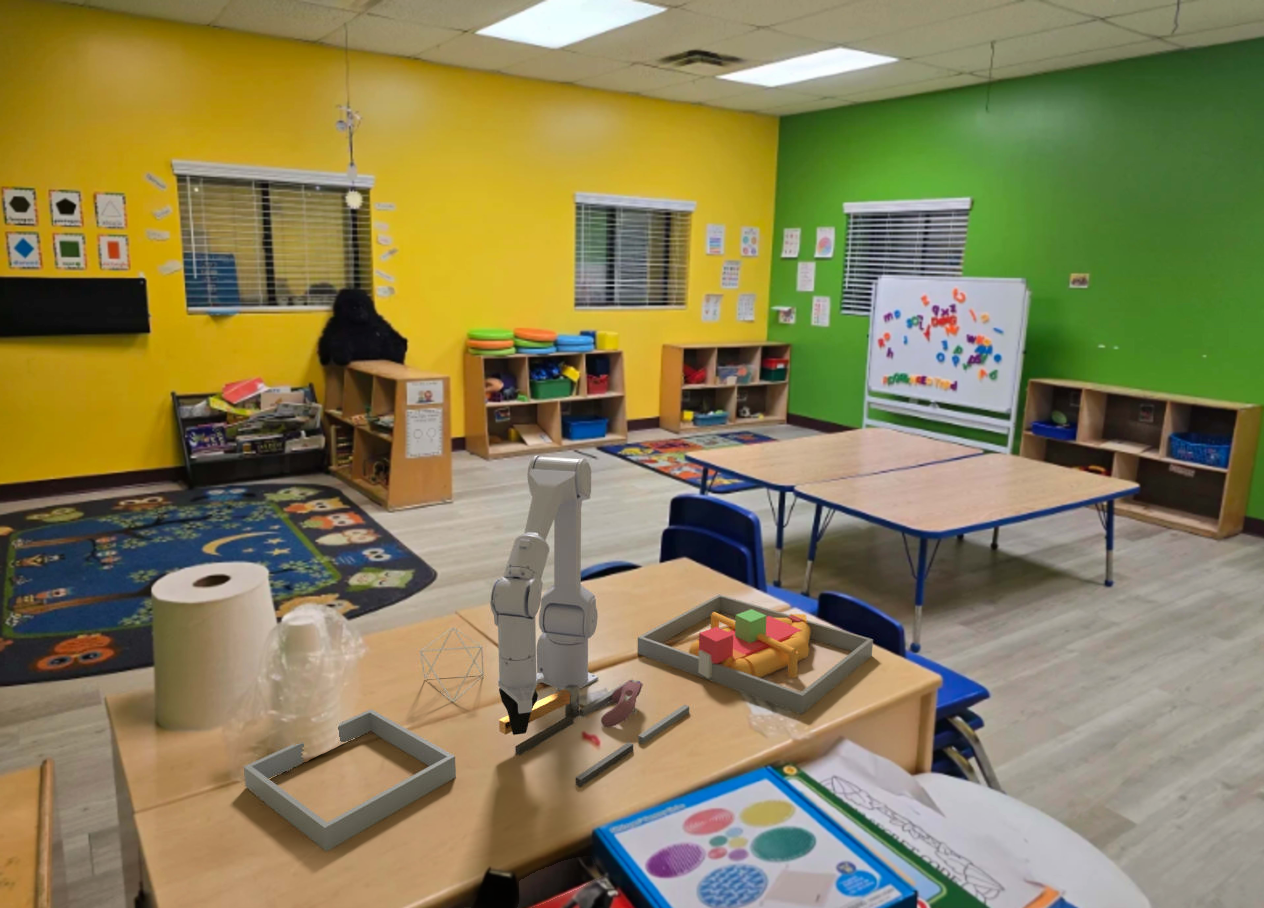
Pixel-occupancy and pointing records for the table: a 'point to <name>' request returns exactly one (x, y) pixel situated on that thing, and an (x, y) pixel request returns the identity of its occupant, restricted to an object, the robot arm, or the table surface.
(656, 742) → the table surface
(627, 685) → the pink curved shape
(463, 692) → the geometric polyhedron
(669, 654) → the blocks bin frame
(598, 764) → the dock
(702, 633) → the raft
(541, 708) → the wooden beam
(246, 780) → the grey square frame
